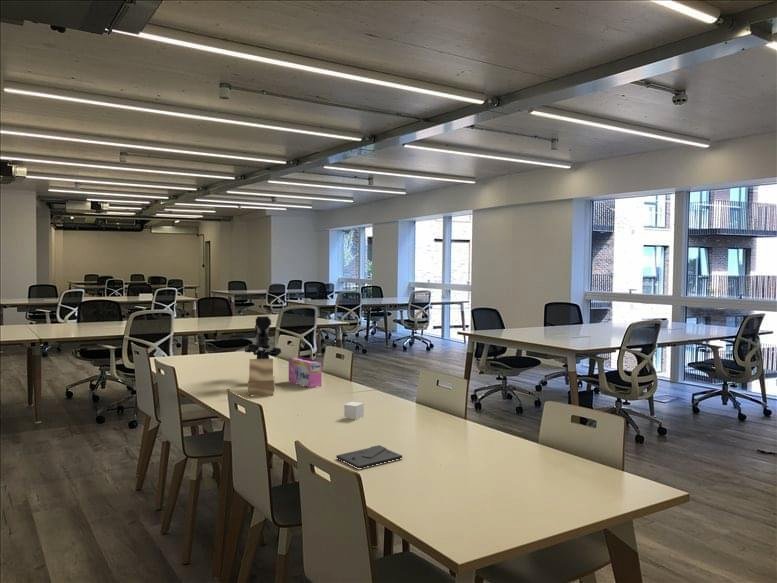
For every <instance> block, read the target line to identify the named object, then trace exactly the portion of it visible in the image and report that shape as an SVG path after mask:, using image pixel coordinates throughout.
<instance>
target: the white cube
mask: <svg viewBox="0 0 777 583" xmlns="http://www.w3.org/2000/svg"><path fill="white" fill-rule="evenodd" d="M364 405H365V404H364V402H357V401H350V402H347V403H345V404H344V405H343V409H344V410H343V411H344V412H343V413H344V415H343V416H344V417H346V418H345V419H347V418H351V419H350V420H353V419H357V420H359V419H361V418H360V417H362V418H364V417H365V416H364ZM363 416H364V417H363ZM358 418H359V419H358Z"/></svg>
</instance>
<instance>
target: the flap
mask: <svg viewBox="0 0 777 583" xmlns="http://www.w3.org/2000/svg"><path fill="white" fill-rule="evenodd" d="M248 364H249V368H248V369H249V371H248V379H249V381H273V376H274V358H269V359H257V358H249V363H248Z"/></svg>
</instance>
